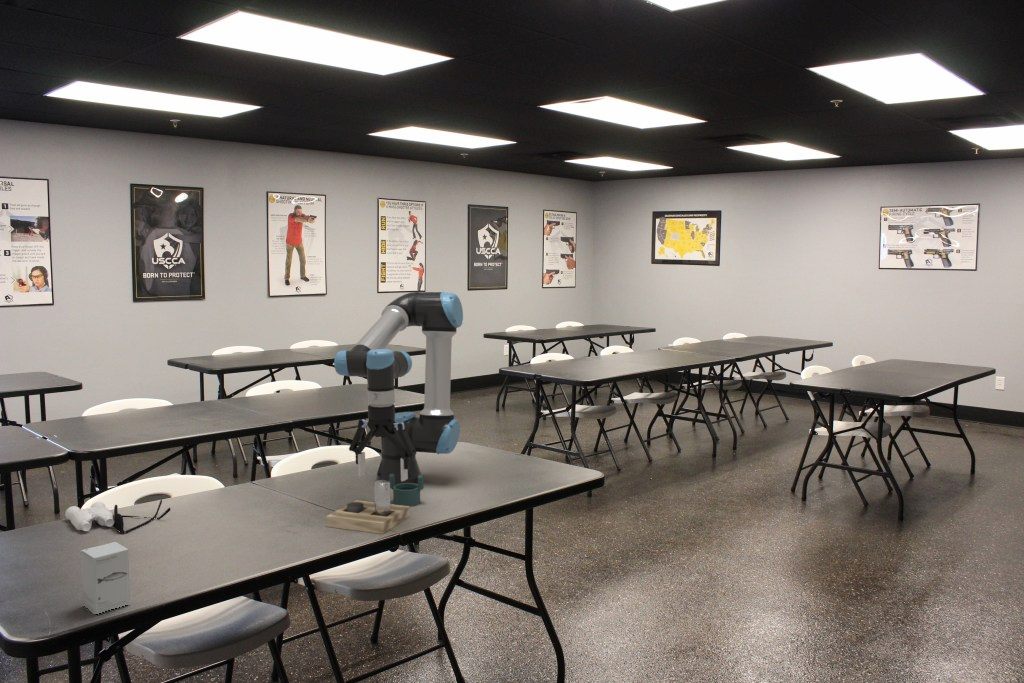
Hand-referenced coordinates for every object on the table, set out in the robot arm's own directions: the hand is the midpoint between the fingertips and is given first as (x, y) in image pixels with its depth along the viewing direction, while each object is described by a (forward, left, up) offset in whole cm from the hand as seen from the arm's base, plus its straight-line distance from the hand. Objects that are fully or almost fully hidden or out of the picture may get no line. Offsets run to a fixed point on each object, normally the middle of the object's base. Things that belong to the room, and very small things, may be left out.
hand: (382, 477), depth 219 cm
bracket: (-20, -2, -13) cm, 24 cm away
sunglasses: (+23, -65, -14) cm, 70 cm away
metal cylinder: (0, 0, -13) cm, 13 cm away
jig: (0, -4, -13) cm, 14 cm away
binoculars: (+29, -77, -14) cm, 84 cm away
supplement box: (+68, -29, -13) cm, 76 cm away
